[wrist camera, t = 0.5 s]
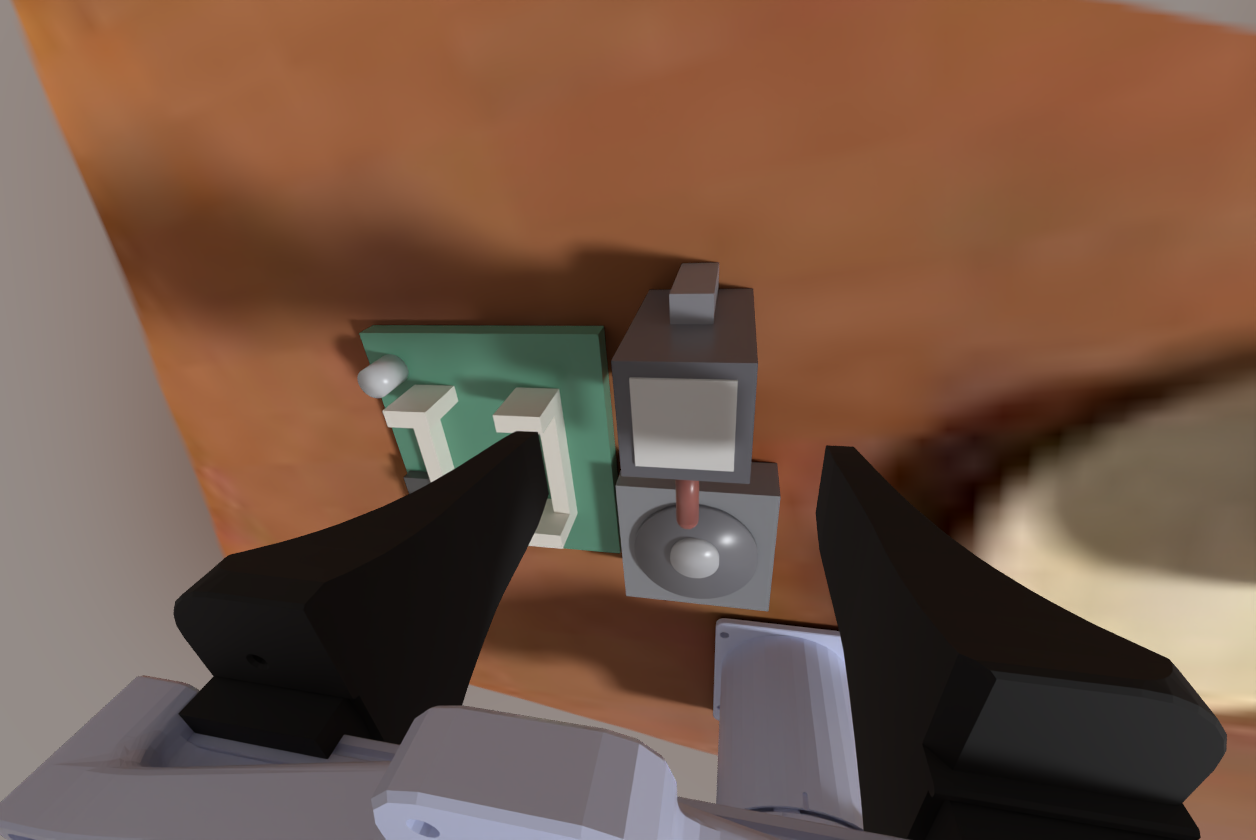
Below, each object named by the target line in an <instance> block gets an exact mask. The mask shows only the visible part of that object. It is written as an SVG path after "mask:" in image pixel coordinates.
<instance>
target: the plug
mask: <svg viewBox="0 0 1256 840" xmlns="http://www.w3.org/2000/svg"><path fill="white" fill-rule="evenodd" d="M718 288H719V263H682V264H681V267H680V269H679V272H678V274H677V277H676V279H675V281H674V284H673V286H672V289H669V290H649V292H648V293H647V295H646V297H645V299H644V301H643V303H642V305H641V306H640V308H639V310H638V312H637V314H636V316H635V318H634V319H633V321H632V323H631V325H630V327H629V329H628V331H627V332H626V334H625V336H624V338H623V340H622V342H621V344H620V345H619V347H618V349H617V351H616V353H615V355H614V357H613V358H612V360H611V364H612V376H613V387H614V398H615V409H616V420H617V431H618V443H619V454H620V465H621V476H627V477H644V478H660V479H675V491H676V520H677V523H678V525H679V526H680V527H682V528H684V529H692V528H694V527H695V526H696V525H697V524H698V521H699V481H708V482H724V483H741V484H750V474H751V459H752V444H753V429H754V414H755V399H756V384H757V369H758V358H757V342H756V327H755V311H754V295H753V289H718Z"/></svg>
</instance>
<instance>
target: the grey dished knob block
mask: <svg viewBox="0 0 1256 840" xmlns="http://www.w3.org/2000/svg"><path fill="white" fill-rule="evenodd" d="M616 496H617V506H618V516H619V526H620V537H621V547H622V557H623V568H624V578H625V588H626V596H633V597H642V598H651V599H660V600H669V601H679V602H688V603H697V604H706V605H715V606H724V607H733V608H742V609H752V610H761V611H768V610H769V600H770V591H771V581H772V572H773V562H774V553H775V543H776V534H777V524H778V515H779V505H780V487H779V477H778V468H777V463H760V462H751V474H750V484H741V483H724V482H708V481H699V521H698V524H697V525H696V526H695V527H694V528H692V529H684V528H682V527H680V526H679V525H678V523H677V520H676V491H675V479H660V478H644V477H627V476H621V471H620V474H619V477H618V480H617V483H616Z"/></svg>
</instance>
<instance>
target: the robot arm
mask: <svg viewBox="0 0 1256 840" xmlns="http://www.w3.org/2000/svg"><path fill="white" fill-rule="evenodd" d="M548 495H549V491H548V485H547V480H546V474H545V469H544V463H543V457H542V452H541V446H540V441H539V435H538V432H529V431H515V432H513V433H511V434H510V435H508V436H506V437H504V438H503V439H501V440H499V441H498V442H496V443H495V444H493V445H491V446H490V447H488V448H487V449H485V450H484V451H482V452H481V453H479V454H477V455H476V456H474V457H473V458H471V459H469V460H468V461H466V462H465V463H463V464H462V465H460V466H458V467H457V468H455V469H453V470H452V471H450V472H448V473H446V474H445V475H443V476H441V477H439V478H438V479H436V480H434V481H433V482H431V483H429V484H427V485H426V486H424V487H422V488H420V489H418V490H416V491H414V492H412V493H410V494H408V495H407V496H404V497H402V498H400V499H398V500H396V501H394V502H392V503H390V504H387V505H385V506H383V507H381V508H378V509H376V510H373V511H371V512H368V513H366V514H363V515H361V516H358V517H356V518H353V519H351V520H348V521H346V522H343V523H340V524H338V525H335V526H332V527H329V528H326V529H323V530H320V531H317V532H314V533H310V534H307V535H304V536H301V537H298V538H294V539H291V540H287V541H284V542H280V543H276V544H272V545H268V546H264V547H260V548H256V549H252V550H248V551H244V552H240V553H235V554H231V555H228V556H227V557H226V558H224V559H223V560H222V561H221V562H220V563H219V564H218V565H217V566H215V567H214V568H213V569H212V570H211V571H209V573H207V574H206V575H205V576H204V577H202V578H201V579H200V580H199V581H198V582H196V583H195V584H194V585H193V586H192V587H191V588H189V589H188V590H187V591H186V592H185V593H183V594H182V595H181V596H180V597H179V598H178V599H177V600H176V601H175V606H174V618H175V622H176V625H177V627H178V629H179V630H180V632H181V633H182V635H183V636H184V638H185V639H186V641H187V642H188V643H189V645H190V646H191V647H192V648H193V650H194V651H195V652H196V654H197V655H198V656H199V658H200V659H201V660H202V662H203V663H204V664H205V666H206V667H207V668H208V670H209V671H210V672H211V673H212V675H213V676H214V677H213V678H212V679H211V680H210V681H209V682H208V683H207V684H206V685H205V686H204V687H203V688H202V689H201V690H200V691H199V690H198V689H196V688H195V687H193V686H191V685H189V684H186V683H183V682H178V681H172V680H167V679H161V678H156V677H150V676H138V677H136V678H135V679H134V680H133V681H132V682H131V683H130V684H128V686H127V687H125V688H124V689H123V690H122V691H121V692H120V693H119V694H118V695H117V696H115V697H114V698H113V699H112V700H111V701H110V702H109V703H108V704H107V705H106V706H105V707H103V708H102V709H101V710H100V711H99V712H98V713H97V714H96V715H95V716H94V717H93V718H91V719H90V720H89V721H88V722H87V723H86V724H85V725H84V726H83V727H82V728H81V729H80V730H78V731H77V732H76V733H75V734H74V735H73V736H72V737H71V738H70V739H69V740H68V741H66V742H65V743H64V744H63V745H62V746H61V747H60V748H59V749H58V750H57V751H56V752H54V753H53V755H51V756H50V757H49V758H48V759H47V760H46V761H45V762H44V763H43V764H41V765H40V766H39V767H38V768H37V769H36V770H35V771H34V772H33V773H32V774H31V775H30V776H28V777H27V778H26V779H25V780H24V781H23V782H22V783H21V784H20V785H19V786H18V787H17V788H15V789H14V790H13V791H12V792H11V793H10V794H9V795H8V796H7V797H6V798H4V799H3V800H2V801H1V802H0V835H1V836H2V837H4V838H6V839H7V840H1199V839H1200V838H1201V837H1200V831H1199V828H1198V827H1197V825H1196V824H1195V822H1194V821H1193V819H1192V817H1191V816H1190V814H1189V813H1188V811H1187V810H1186V808H1185V807H1184V805H1183V802H1184V801H1185V800H1186V798H1187V797H1188V796H1189V795H1190V794H1191V793H1192V792H1193V791H1194V790H1195V789H1196V788H1197V787H1198V786H1199V785H1200V784H1201V783H1202V782H1203V781H1204V780H1205V779H1206V778H1207V777H1208V776H1209V775H1210V774H1211V773H1212V772H1213V771H1214V770H1215V768H1216V767H1217V765H1218V763H1219V762H1220V760H1221V759H1222V757H1223V756H1224V754H1225V752H1226V744H1227V734H1226V732H1225V730H1224V729H1223V727H1222V725H1221V724H1220V722H1219V720H1218V719H1217V718H1216V716H1215V715H1214V714H1213V712H1212V711H1211V710H1210V709H1209V707H1208V706H1207V705H1206V704H1205V702H1204V701H1203V700H1202V699H1201V697H1200V696H1199V695H1198V693H1197V692H1196V691H1195V690H1194V688H1193V687H1192V686H1191V685H1190V683H1189V682H1188V681H1187V680H1186V679H1185V677H1184V676H1183V675H1182V674H1181V672H1180V671H1179V670H1178V669H1177V668H1176V666H1175V665H1174V664H1173V663H1172V662H1171V661H1170V659H1168V658H1166V657H1164V656H1161V655H1159V654H1157V653H1155V652H1153V651H1151V650H1148V649H1146V648H1144V647H1142V646H1140V645H1138V644H1135V643H1133V642H1131V641H1129V640H1127V639H1125V638H1122V637H1120V636H1118V635H1116V634H1114V633H1112V632H1109V631H1107V630H1105V629H1103V628H1101V627H1099V626H1096V625H1094V624H1092V623H1090V622H1088V621H1086V620H1085V619H1083V618H1081V617H1079V616H1077V615H1075V614H1073V613H1071V612H1069V611H1067V610H1066V609H1064V608H1062V607H1060V606H1058V605H1056V604H1054V603H1052V602H1050V601H1049V600H1047V599H1045V598H1043V597H1042V596H1040V595H1038V594H1036V593H1035V592H1033V591H1031V590H1029V589H1028V588H1026V587H1024V586H1023V585H1021V584H1019V583H1018V582H1016V581H1014V580H1013V579H1011V578H1010V577H1008V576H1006V575H1005V574H1003V573H1001V572H1000V571H998V570H997V569H995V568H993V567H992V566H990V565H989V564H987V563H986V562H984V561H983V560H981V559H980V558H978V557H977V556H976V555H974V554H973V553H971V552H970V551H969V550H967V549H966V548H965V547H963V546H962V545H960V544H959V543H958V542H956V541H955V540H953V539H952V538H951V537H949V536H948V535H947V534H946V533H944V532H943V531H942V530H940V529H939V528H938V527H937V526H936V525H934V524H933V523H932V522H931V521H930V520H929V519H927V518H926V517H925V516H924V515H923V514H921V513H920V512H919V511H918V510H917V509H916V508H915V507H913V506H912V505H911V504H910V503H909V502H908V501H907V500H906V499H905V498H904V497H903V496H902V495H900V494H899V493H898V492H897V491H896V490H895V489H894V488H893V487H892V486H891V485H890V484H889V483H888V482H887V481H886V480H885V479H884V478H883V477H882V476H881V475H880V474H879V473H878V472H877V471H876V470H875V469H874V467H873V466H872V465H871V464H870V463H869V462H868V461H867V460H866V459H865V458H864V457H863V456H862V455H861V454H860V453H859V452H858V451H857V450H856V449H855V448H854V447H847V446H826V449H825V456H824V462H823V469H822V475H821V482H820V488H819V495H818V501H817V508H816V521H817V532H818V541H819V550H820V554H821V558H822V563H823V567H824V571H825V575H826V579H827V583H828V587H829V591H830V596H831V600H832V604H833V608H834V612H835V616H836V620H837V624H838V628H839V631H834V630H825V629H816V628H807V627H799V626H790V625H781V624H772V623H763V622H755V621H746V620H737V619H728V618H721V619H719V620H717V622H716V638H715V671H714V703H713V716H714V718H715V719H717V720H719V745H718V772H717V773H718V774H717V798H716V804H715V803H709V802H704V801H699V800H693V799H688V798H682V797H677V782H676V780H675V778H674V776H673V774H672V772H671V770H670V768H669V766H668V764H667V762H666V761H665V760H664V758H663V757H662V756H661V755H660V754H658V753H657V752H656V751H654V750H653V749H651V748H650V747H648V746H647V745H645V744H644V743H643V742H641V741H640V740H638V739H636V738H633V737H630V736H627V735H623V734H620V733H617V732H614V731H610V730H607V729H603V728H597V727H590V726H585V725H578V724H573V723H566V722H560V721H554V720H548V719H542V718H536V717H529V716H524V715H517V714H511V713H505V712H499V711H493V710H487V709H481V708H475V707H469V706H462V703H463V700H464V697H465V694H466V691H467V688H468V685H469V682H470V679H471V676H472V673H473V670H474V668H475V665H476V662H477V659H478V656H479V654H480V651H481V648H482V645H483V642H484V640H485V637H486V635H487V632H488V629H489V627H490V624H491V622H492V619H493V616H494V614H495V611H496V609H497V607H498V604H499V602H500V600H501V598H502V596H503V594H504V592H505V590H506V588H507V586H508V584H509V582H510V580H511V578H512V576H513V574H514V572H515V570H516V569H517V567H518V565H519V563H520V561H521V559H522V557H523V555H524V553H525V551H526V549H527V547H528V545H529V543H530V541H531V539H532V537H533V535H534V533H535V531H536V529H537V527H538V525H539V522H540V519H541V516H542V514H543V511H544V508H545V505H546V501H547V498H548Z"/></svg>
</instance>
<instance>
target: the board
mask: <svg viewBox="0 0 1256 840" xmlns="http://www.w3.org/2000/svg"><path fill="white" fill-rule="evenodd" d="M359 334H360V337H361V340H362V343H363V346H364V349H365V351H366V354H367V357H368V360H369V363H370V365H369V366H368V367H366V368H365V369H363V370H362V371H360V372H359V374H358V383H359V386H360V387H361V389H362V390H363V391H364V392H365V393H366V394H368V395H369V396H371V397H374V398H382V401H383V404H384V406H385V409H384V410H383V414H384V417H385V420H386V423H387V425H388V427H392V430H393V433H394V435H395V438H396V441H397V444H398V447H399V450H400V453H401V456H402V459H403V461H404V464H405V467H406V470H407V474H406V475H405V476H404V480H405V483H406V486H407V489H408V492H409V494H410V493H412V492H414V491H416V490H418V489H420V488H422V487H424V486H426V485H427V484H429V483H431V482H433V481H434V480H436V479H438V478H439V477H441V476H443V475H445V474H446V473H448V472H450V471H452V470H453V469H455V468H457V467H458V466H460V465H462V464H463V463H465V462H466V461H468V460H469V459H471V458H473V457H474V456H476V455H477V454H479V453H481V452H482V451H484V450H485V449H487V448H488V447H490V446H491V445H493V444H495V443H496V442H498V441H499V440H501V439H503V438H504V437H506V436H508V435H510V434H511V433H513V432H515V431H529V432H538V435H539V441H540V446H541V452H542V457H543V463H544V469H545V474H546V480H547V485H548V491H549V495H548V498H547V501H546V505H545V508H544V511H543V514H542V516H541V519H540V522H539V525H538V527H537V529H536V531H535V533H534V535H533V537H532V539H531V541H530V543H529V545H528V546H539V547H549V548H560V549H563V548H567V549H578V550H589V551H599V552H610V553H620V552H621V548H622V547H621V537H620V526H619V516H618V506H617V496H616V483H617V480H618V472H617V461H616V450H615V439H614V429H613V418H612V407H611V396H610V386H609V375H608V364H607V354H606V343H605V332H604V326H463V325H372V326H371V327H369V328H367V329H365V330H364V331H362V332H360V333H359Z"/></svg>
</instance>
